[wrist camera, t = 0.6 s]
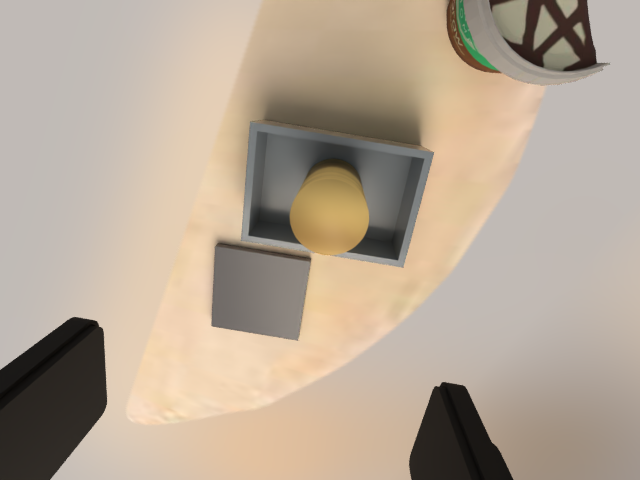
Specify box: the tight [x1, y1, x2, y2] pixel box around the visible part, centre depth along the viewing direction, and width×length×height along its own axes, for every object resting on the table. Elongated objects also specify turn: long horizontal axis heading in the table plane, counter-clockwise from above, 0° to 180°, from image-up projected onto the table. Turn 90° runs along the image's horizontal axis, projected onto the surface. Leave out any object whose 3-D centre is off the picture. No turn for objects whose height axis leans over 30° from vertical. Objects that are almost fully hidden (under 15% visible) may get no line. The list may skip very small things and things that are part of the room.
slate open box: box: [241, 120, 434, 268], centre depth 32 cm, size 10×15×5 cm
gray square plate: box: [212, 243, 311, 341], centre depth 38 cm, size 10×10×1 cm
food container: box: [447, 0, 610, 85], centre depth 24 cm, size 12×6×10 cm, turn 24°
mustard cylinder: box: [290, 159, 369, 255], centre depth 29 cm, size 6×6×10 cm
